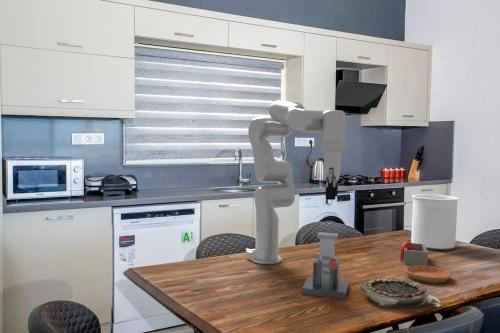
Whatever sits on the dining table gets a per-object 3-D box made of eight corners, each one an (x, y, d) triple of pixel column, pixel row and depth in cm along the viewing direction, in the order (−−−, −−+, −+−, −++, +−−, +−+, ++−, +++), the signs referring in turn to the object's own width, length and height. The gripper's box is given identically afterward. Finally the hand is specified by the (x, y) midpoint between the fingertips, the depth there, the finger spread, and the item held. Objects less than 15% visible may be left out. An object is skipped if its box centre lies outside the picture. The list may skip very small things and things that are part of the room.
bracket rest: (404, 264, 193) (404, 250, 193) (402, 255, 208) (402, 242, 208) (427, 266, 191) (427, 252, 190) (423, 257, 206) (424, 243, 206)
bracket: (408, 263, 195) (409, 244, 194) (400, 260, 198) (401, 242, 198) (427, 260, 201) (428, 242, 200) (418, 257, 205) (420, 240, 204)
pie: (459, 311, 142) (459, 295, 141) (380, 320, 134) (381, 304, 134) (403, 283, 168) (404, 270, 168) (335, 290, 161) (336, 276, 160)
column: (315, 285, 156) (317, 234, 155) (317, 281, 161) (318, 232, 160) (334, 287, 154) (336, 236, 153) (336, 282, 159) (337, 233, 158)
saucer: (448, 275, 180) (449, 267, 180) (452, 287, 165) (452, 279, 164) (405, 270, 185) (405, 263, 185) (404, 282, 170) (404, 274, 170)
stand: (302, 293, 153) (303, 260, 153) (308, 281, 167) (309, 250, 166) (345, 298, 150) (346, 264, 149) (348, 285, 163) (349, 254, 162)
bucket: (466, 252, 216) (469, 200, 215) (419, 251, 217) (422, 199, 215) (444, 240, 242) (446, 194, 241) (402, 239, 242) (404, 193, 241)
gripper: (324, 146, 166) (322, 194, 167) (319, 147, 149) (317, 200, 150) (345, 147, 164) (344, 195, 165) (343, 147, 147) (341, 201, 148)
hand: (331, 197), depth 157 cm, fingers open, 9 cm apart
